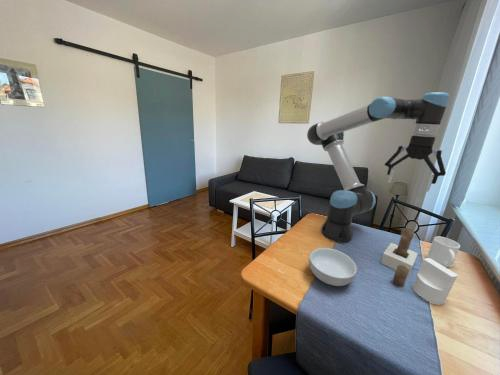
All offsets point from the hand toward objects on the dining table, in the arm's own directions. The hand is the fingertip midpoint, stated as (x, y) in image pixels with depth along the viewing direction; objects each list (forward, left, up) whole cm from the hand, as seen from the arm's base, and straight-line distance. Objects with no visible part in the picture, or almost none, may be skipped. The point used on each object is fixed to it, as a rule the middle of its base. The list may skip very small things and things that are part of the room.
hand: (407, 186), depth 87 cm
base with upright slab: (+18, -20, -32) cm, 42 cm away
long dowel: (+6, -9, -32) cm, 33 cm away
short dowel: (+9, -23, -32) cm, 40 cm away
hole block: (+6, -9, -32) cm, 33 cm away
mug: (+19, +5, -32) cm, 37 cm away
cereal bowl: (-10, -39, -32) cm, 52 cm away
